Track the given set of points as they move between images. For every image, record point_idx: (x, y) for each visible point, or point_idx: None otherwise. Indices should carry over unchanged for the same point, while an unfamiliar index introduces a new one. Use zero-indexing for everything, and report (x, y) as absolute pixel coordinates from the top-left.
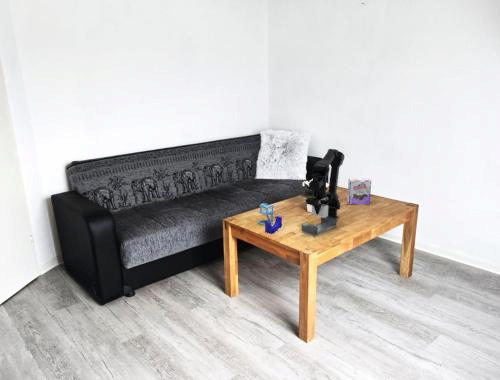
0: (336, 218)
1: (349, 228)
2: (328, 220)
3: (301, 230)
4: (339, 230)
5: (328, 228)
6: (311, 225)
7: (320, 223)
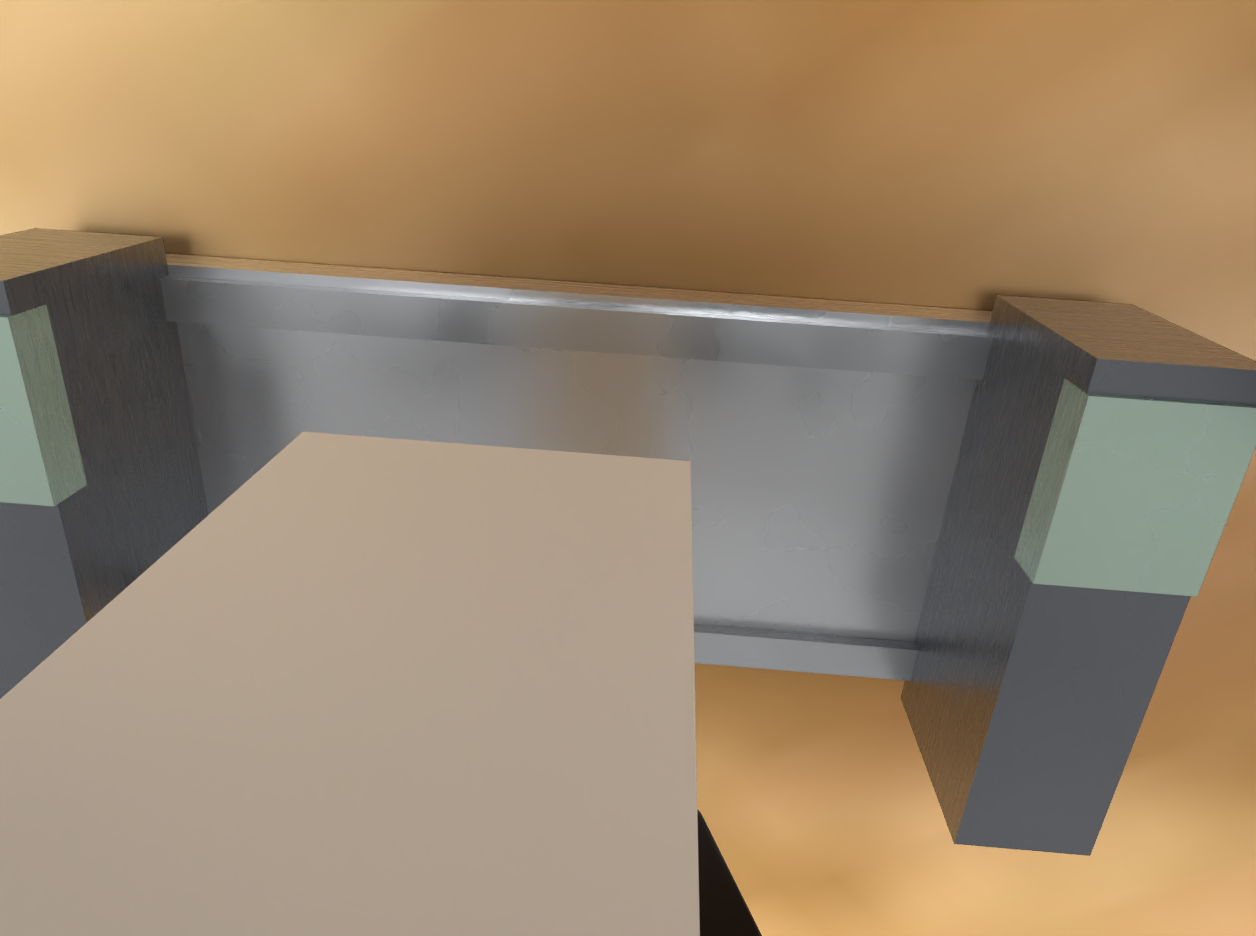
0: (1082, 849)
1: (1048, 889)
2: (974, 611)
3: (32, 232)
4: (822, 803)
5: (699, 658)
6: (44, 603)
7: (846, 370)
